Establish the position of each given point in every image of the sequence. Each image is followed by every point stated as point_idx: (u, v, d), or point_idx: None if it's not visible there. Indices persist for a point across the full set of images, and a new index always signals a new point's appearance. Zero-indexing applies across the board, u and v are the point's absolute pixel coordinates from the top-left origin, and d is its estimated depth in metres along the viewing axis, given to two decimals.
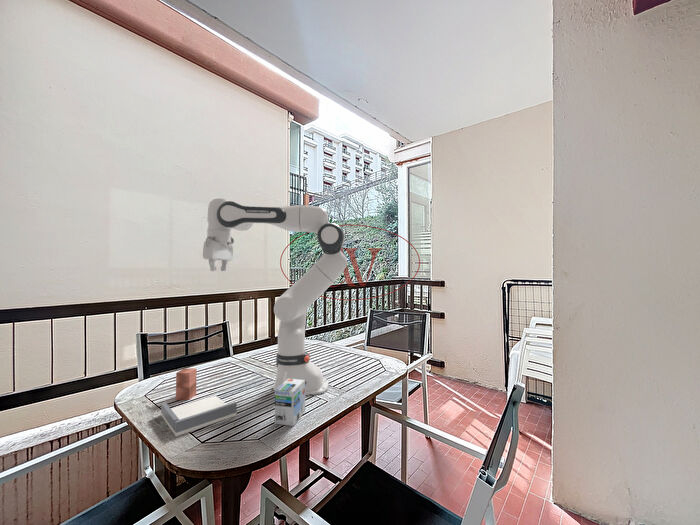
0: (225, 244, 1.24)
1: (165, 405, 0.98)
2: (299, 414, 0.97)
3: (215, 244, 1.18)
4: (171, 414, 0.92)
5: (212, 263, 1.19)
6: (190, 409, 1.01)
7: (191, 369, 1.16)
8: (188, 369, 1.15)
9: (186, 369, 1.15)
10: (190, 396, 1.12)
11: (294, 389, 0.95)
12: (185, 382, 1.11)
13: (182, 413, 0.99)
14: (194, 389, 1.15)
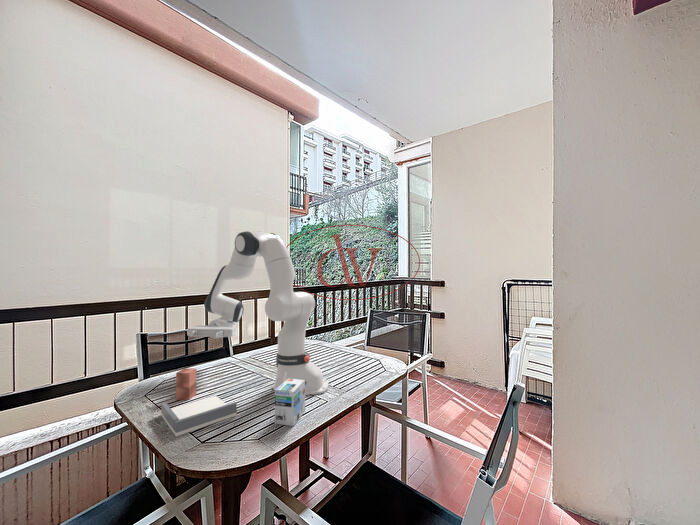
0: (214, 323, 1.38)
1: (165, 405, 0.98)
2: (299, 414, 0.97)
3: (199, 325, 1.38)
4: (171, 414, 0.92)
5: None
6: (190, 409, 1.01)
7: (191, 369, 1.16)
8: (188, 369, 1.15)
9: (186, 369, 1.15)
10: (190, 396, 1.12)
11: (294, 389, 0.95)
12: (185, 382, 1.11)
13: (182, 413, 0.99)
14: (194, 389, 1.15)
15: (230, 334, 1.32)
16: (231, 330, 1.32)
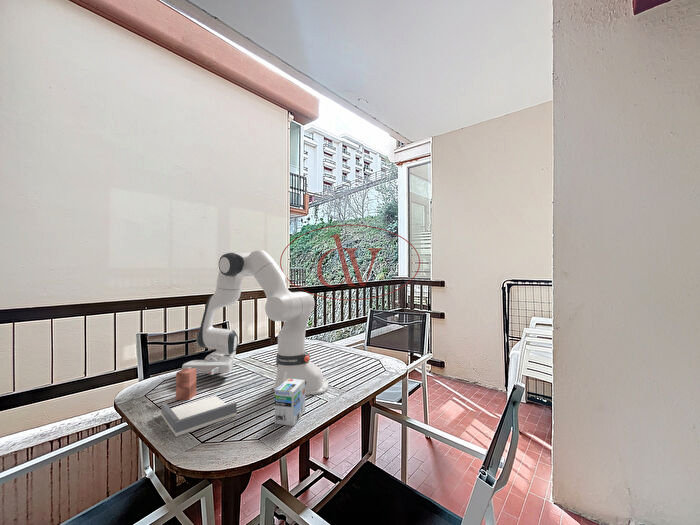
0: (210, 357, 1.34)
1: (165, 405, 0.98)
2: (299, 414, 0.97)
3: (195, 360, 1.34)
4: (171, 414, 0.92)
5: None
6: (190, 409, 1.01)
7: (191, 369, 1.16)
8: (188, 369, 1.15)
9: (186, 369, 1.15)
10: (190, 396, 1.12)
11: (294, 389, 0.95)
12: (185, 382, 1.11)
13: (182, 413, 0.99)
14: (194, 389, 1.15)
15: (226, 370, 1.28)
16: (227, 366, 1.28)
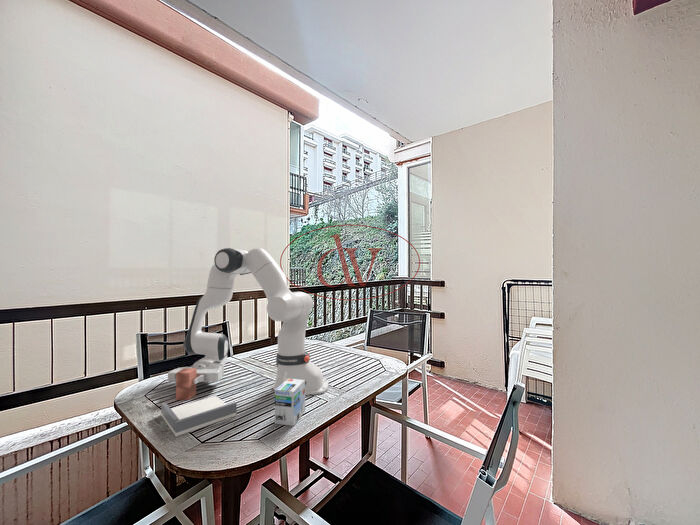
0: (199, 364, 1.24)
1: (165, 405, 0.98)
2: (299, 414, 0.97)
3: (182, 367, 1.24)
4: (171, 414, 0.92)
5: None
6: (190, 409, 1.01)
7: (191, 369, 1.16)
8: (188, 369, 1.15)
9: (186, 369, 1.15)
10: (190, 396, 1.12)
11: (294, 389, 0.95)
12: (185, 382, 1.11)
13: (182, 413, 0.99)
14: (194, 389, 1.15)
15: (216, 378, 1.18)
16: (217, 374, 1.18)
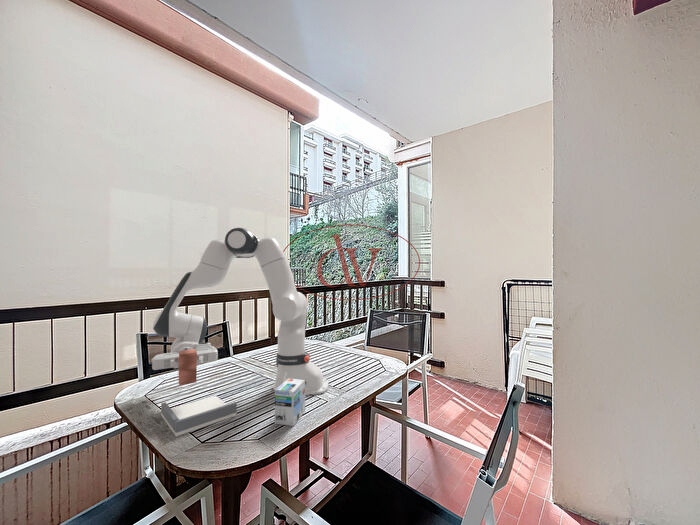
0: (184, 347, 1.09)
1: (165, 405, 0.98)
2: (299, 414, 0.97)
3: (162, 354, 1.05)
4: (171, 414, 0.92)
5: (171, 362, 1.00)
6: (190, 409, 1.01)
7: (190, 349, 1.03)
8: (187, 350, 1.02)
9: (184, 351, 1.01)
10: None
11: (294, 389, 0.95)
12: (191, 363, 0.99)
13: (182, 413, 0.99)
14: None
15: (216, 357, 1.09)
16: (217, 352, 1.09)
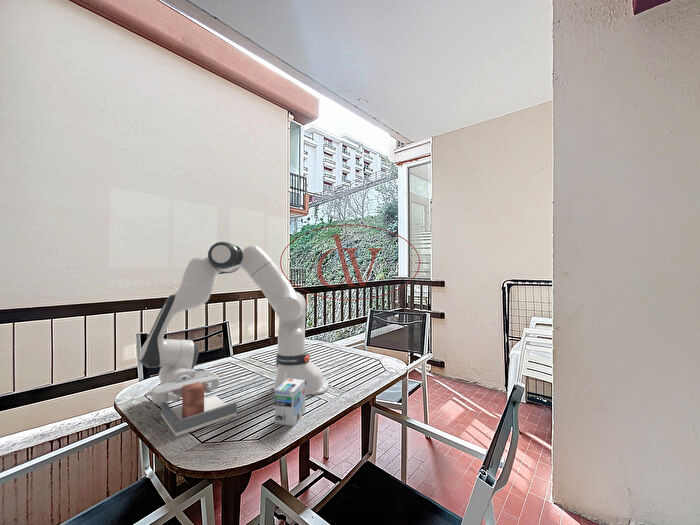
0: (182, 376, 1.03)
1: (165, 405, 0.98)
2: (299, 414, 0.97)
3: (160, 385, 0.98)
4: (171, 414, 0.92)
5: (169, 396, 0.93)
6: None
7: (195, 383, 0.98)
8: (191, 384, 0.97)
9: (189, 385, 0.97)
10: None
11: (294, 389, 0.95)
12: (199, 398, 0.95)
13: None
14: None
15: (218, 384, 1.06)
16: (218, 379, 1.06)
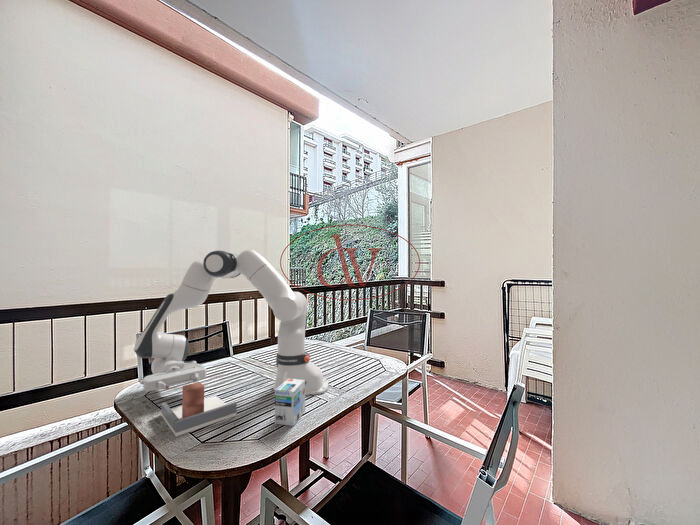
0: (171, 367, 1.12)
1: (165, 405, 0.98)
2: (299, 414, 0.97)
3: (151, 375, 1.08)
4: (171, 414, 0.92)
5: (159, 384, 1.03)
6: None
7: (195, 383, 0.98)
8: (191, 384, 0.97)
9: (189, 385, 0.97)
10: None
11: (294, 389, 0.95)
12: (199, 398, 0.95)
13: None
14: None
15: (205, 375, 1.15)
16: (205, 370, 1.15)
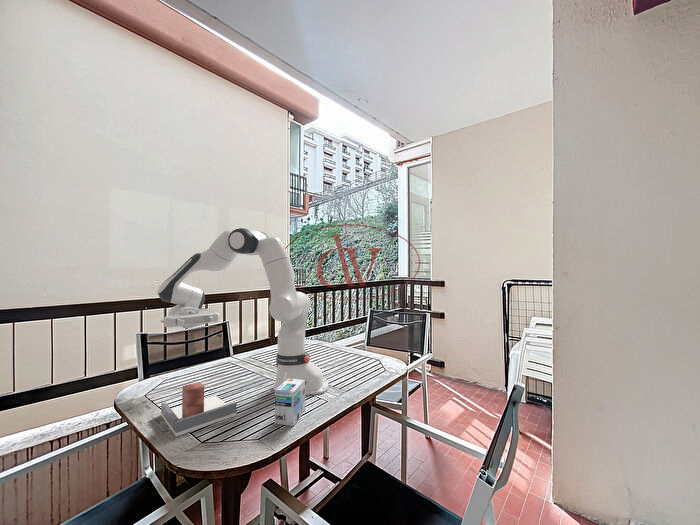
0: (188, 311, 1.25)
1: (165, 405, 0.98)
2: (299, 414, 0.97)
3: (171, 316, 1.20)
4: (171, 414, 0.92)
5: (178, 321, 1.15)
6: None
7: (195, 383, 0.98)
8: (191, 384, 0.97)
9: (189, 385, 0.97)
10: None
11: (294, 389, 0.95)
12: (199, 398, 0.95)
13: None
14: None
15: (218, 319, 1.28)
16: (218, 314, 1.28)
